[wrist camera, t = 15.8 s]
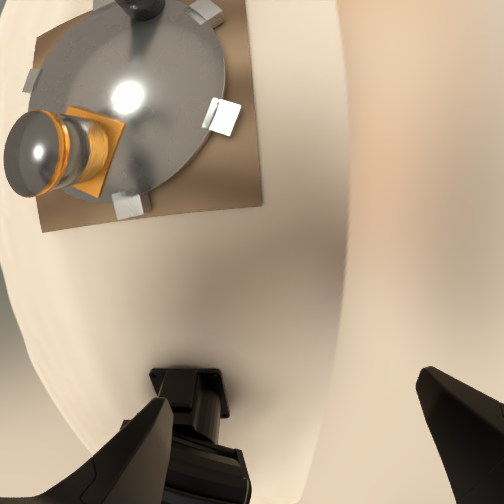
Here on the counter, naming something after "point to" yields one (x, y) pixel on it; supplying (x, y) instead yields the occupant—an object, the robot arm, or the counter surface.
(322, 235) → the counter surface
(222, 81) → the sprocket
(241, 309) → the counter surface
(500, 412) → the robot arm
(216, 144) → the sprocket base
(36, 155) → the roller
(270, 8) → the counter surface
